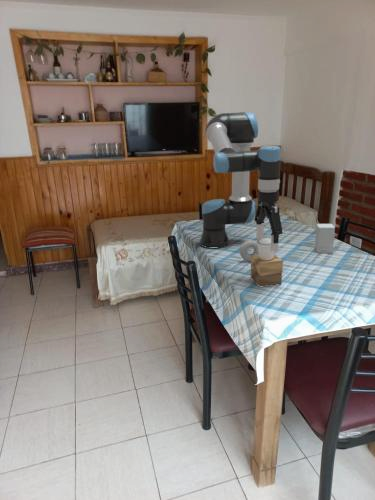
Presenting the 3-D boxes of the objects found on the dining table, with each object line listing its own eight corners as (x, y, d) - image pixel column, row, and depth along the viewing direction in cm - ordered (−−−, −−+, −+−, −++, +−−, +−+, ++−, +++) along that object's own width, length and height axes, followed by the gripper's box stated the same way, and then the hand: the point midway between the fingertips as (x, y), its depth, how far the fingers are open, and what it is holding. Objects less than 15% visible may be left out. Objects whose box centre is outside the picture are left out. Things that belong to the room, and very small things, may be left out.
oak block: (250, 267, 141) (250, 255, 139) (270, 264, 143) (271, 252, 141) (261, 275, 133) (261, 263, 131) (282, 272, 135) (282, 260, 133)
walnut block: (250, 278, 143) (251, 267, 141) (271, 275, 144) (271, 264, 143) (259, 287, 134) (259, 275, 133) (281, 284, 136) (281, 272, 134)
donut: (260, 259, 162) (260, 238, 159) (262, 261, 159) (262, 240, 156) (238, 260, 162) (239, 239, 159) (240, 263, 159) (240, 242, 155)
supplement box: (332, 253, 165) (335, 227, 161) (316, 253, 166) (318, 227, 162) (330, 248, 172) (332, 223, 167) (314, 248, 173) (316, 223, 169)
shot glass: (255, 255, 139) (254, 239, 136) (271, 251, 139) (270, 235, 136) (261, 262, 133) (260, 246, 130) (278, 259, 133) (278, 242, 130)
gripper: (294, 195, 117) (291, 254, 124) (264, 184, 140) (263, 234, 147) (273, 197, 116) (271, 257, 123) (246, 185, 139) (246, 236, 146)
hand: (266, 245), depth 135 cm, fingers open, 13 cm apart
